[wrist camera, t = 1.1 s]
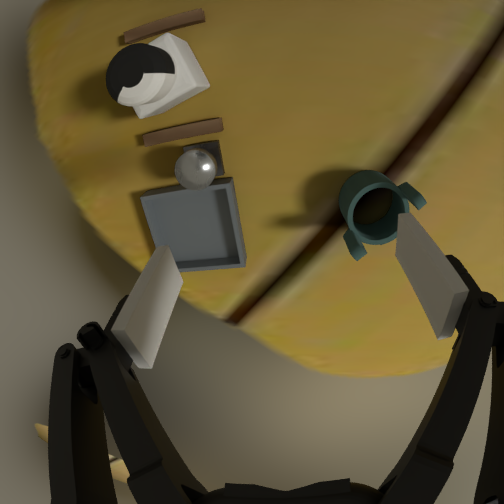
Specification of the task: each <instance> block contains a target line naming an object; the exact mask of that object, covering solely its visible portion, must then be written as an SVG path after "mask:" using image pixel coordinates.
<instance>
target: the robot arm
mask: <svg viewBox="0 0 504 504" xmlns="http://www.w3.org/2000/svg"><path fill="white" fill-rule="evenodd" d="M395 256H396V257H397V259H398V261H399V263H400V264H401V266H402V268H403V270H404V272H405V274H406V275H407V277H408V279H409V281H410V283H411V285H412V287H413V289H414V291H415V293H416V295H417V297H418V299H419V301H420V303H421V305H422V307H423V309H424V311H425V313H426V315H427V317H428V319H429V321H430V323H431V326H432V328H433V330H434V332H435V335H436V337H437V339H438V340H440V339H444V338H448V337H451V336H452V334H453V332H454V330H455V327H456V329H457V331H458V333H459V334H458V337H457V339H456V341H455V343H454V345H453V348H452V349H453V351H452V353H451V356H450V359H449V362H448V364H447V367H446V369H445V372H444V374H443V377H442V379H441V382H440V384H439V386H438V389H437V391H436V393H435V395H434V397H433V400H432V402H431V404H430V406H429V408H428V410H427V412H426V414H425V416H424V418H423V420H422V422H421V424H420V426H419V427H418V429H417V431H416V433H415V435H414V436H413V438H412V440H411V442H410V443H409V445H408V447H407V449H406V450H405V452H404V453H403V455H402V457H401V459H400V460H399V461H398V463H397V464H396V466H395V467H394V469H393V470H392V471H391V472H390V474H389V475H388V476H387V478H386V479H385V480H384V482H383V483H382V485H381V486H380V487H379V489H378V490H377V489H374V488H372V487H370V486H367V485H364V484H359V483H353V482H352V483H351V482H350V478H348V479H340V480H333V481H325V482H318V483H314V484H311V485H308V486H305V487H301V488H297V489H294V490H290V491H281V490H276V489H272V488H267V487H263V486H259V485H255V484H230V483H225V488H221V489H217V490H214V491H211V492H208V491H207V490H206V489H205V487H204V486H203V485H202V484H201V483H200V482H199V481H198V480H196V478H195V477H194V476H193V475H192V473H191V472H190V470H189V469H188V467H187V466H186V464H185V463H184V461H183V460H182V458H181V457H180V455H179V453H178V452H177V450H176V449H175V447H174V445H173V444H172V442H171V440H170V439H169V437H168V435H167V434H166V432H165V430H164V428H163V427H162V425H161V424H160V421H159V420H158V418H157V416H156V414H155V412H154V411H153V409H152V407H151V405H150V403H149V401H148V399H147V397H146V395H145V393H144V391H143V389H142V387H141V385H140V383H139V381H138V379H137V377H136V375H135V372H134V370H133V369H132V368H131V364H132V362H133V361H134V363H135V364H136V365H137V366H138V368H149V369H151V368H152V366H153V363H154V360H155V357H156V354H157V351H158V349H159V346H160V343H161V340H162V337H163V335H164V331H165V329H166V326H167V323H168V321H169V318H170V315H171V313H172V310H173V307H174V305H175V302H176V299H177V297H178V294H179V292H180V289H181V286H182V284H183V280H182V278H181V275H180V273H179V270H178V268H177V265H176V263H175V260H174V258H173V255H172V253H171V250H170V248H169V245H165V246H159V247H157V248H156V249H155V251H154V253H153V254H152V256H151V258H150V259H149V261H148V263H147V265H146V266H145V268H144V270H143V271H142V273H141V275H140V277H139V279H138V280H137V282H136V284H135V286H134V287H133V289H132V291H131V293H130V295H126V296H125V297H124V298H123V299H122V300H121V301H120V302H119V303H118V305H117V307H116V310H115V311H114V312H113V314H112V315H113V316H111V318H110V320H109V322H108V324H107V325H106V327H105V329H104V331H103V330H102V328H101V327H100V325H99V324H98V323H97V322H89V323H87V324H85V325H84V326H82V327H81V329H80V330H79V331H78V334H77V339H78V341H79V342H80V343H81V344H82V346H83V347H84V348H80V349H76V348H75V347H74V345H73V344H71V343H67V344H64V345H62V346H61V347H60V348H59V349H58V350H57V352H56V355H55V359H54V366H53V373H52V382H51V392H50V405H49V425H48V459H49V478H50V490H51V498H52V499H51V504H118V503H117V498H116V494H115V489H114V484H113V479H112V473H111V468H110V462H109V455H108V449H107V440H106V434H105V433H106V432H105V423H104V413H105V416H106V419H107V421H108V424H109V427H110V429H111V432H112V434H113V437H114V439H115V442H116V444H117V447H118V449H119V451H120V454H121V456H122V458H123V460H124V463H125V465H126V467H127V469H128V471H129V474H130V477H128V478H127V483H128V486H129V488H130V490H131V492H132V494H133V496H134V498H135V500H136V502H137V504H434V502H435V500H436V499H437V497H438V495H439V494H440V492H441V490H442V488H443V486H444V485H445V483H446V481H447V480H448V478H449V476H450V473H451V471H452V469H453V466H454V463H453V458H454V456H455V454H456V451H457V449H458V447H459V445H460V443H461V440H462V438H463V436H464V433H465V431H466V429H467V426H468V424H469V421H470V418H471V416H472V413H473V410H474V407H475V404H476V401H477V398H478V395H479V392H480V389H481V386H482V382H483V379H484V375H485V372H486V368H487V364H488V359H489V356H490V351H491V347H492V392H491V407H490V417H489V426H488V433H487V441H486V446H485V452H484V457H483V462H482V467H481V471H480V475H479V479H478V483H477V488H476V492H475V497H474V504H504V302H498V301H497V299H496V298H495V297H494V296H493V295H492V294H490V293H488V292H483V291H481V290H480V288H479V287H478V285H477V284H476V282H475V281H474V280H473V278H472V277H471V275H470V274H468V271H467V270H466V269H465V268H464V266H463V265H462V263H461V262H460V261H459V260H458V259H457V258H456V257H454V256H453V255H444V254H443V252H442V251H441V250H440V248H439V247H438V246H437V245H436V243H435V242H434V241H433V239H432V238H431V237H430V236H429V234H428V233H427V232H426V231H425V229H424V228H423V227H422V226H421V225H420V223H419V222H418V221H417V220H416V219H415V217H414V216H413V215H412V214H411V213H402V214H398V230H397V243H396V254H395ZM103 410H104V411H103Z"/></svg>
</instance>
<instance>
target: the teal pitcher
mask: <svg viewBox="0 0 504 504" xmlns="http://www.w3.org/2000/svg"><path fill="white" fill-rule="evenodd" d="M375 188H388V189H391V190H392V194H393V200H392V204H391V207H390V209H389V211H388V212H387V214H386V215H385V216H384V217H383V218H382V219H380V220H379V221H377V222H375V223H372V224H358V223H355V222H353V211H354V208H355V205H356V203H357V202H358V200H359V199H360V198H361V197H362V196H363V195H364V194H365V193H367V192H368V191H370V190H373V189H375ZM407 199H408V200H409V201H410V202H411V203H412V204H413V205H414V206H415V207H416V208H417V209H418V210H420V209H421V208H422V207H423V206H424V205H425V204H426V203H427V202H426V200H425V199H424V197H423V196H422V195H421V194H420V193H419V192H418V191H417V190H416V189H414V188H413V187H412V186H411V185H410V184H408V183H407V182H405V183H403V184H401V185H399V186H398V187H397V186H396V185H395V184H394V183H393V182H392V181H391V180H390V179H388V178H387V177H386V176H385V175H383V174H382V173H380V172H377V171H373V170H365V171H361V172H358V173H356V174H354V175H352V176H351V177H350V178H349V179H348V180H347V181H346V182H345V183H344V185H343V186H342V188H341V191H340V194H339V207H340V210H341V213H342V215H343V217H344V219H345V221H346V223H347V225H348V227H349V229H348V230H347V231H346V233H345V234H344V235H343V238H344V240H345V242H346V245H347V247H348V249H349V252H350V254H351V255H352V256H353V258H354V259H355V260H356V261H358V260H359V259H361V258H362V257H363V256H364V255H366V254H367V252H366V250H365V248H364V246H363V244H362V242H363V243H366V244H372V245H378V244H380V245H382V244H385V243H388V242H390V241H392V240H394V239H395V238H396V237H397V230H398V214H402V213H409V203H408V200H407ZM361 241H362V242H361Z"/></svg>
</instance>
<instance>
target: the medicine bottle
mask: <svg viewBox="0 0 504 504" xmlns="http://www.w3.org/2000/svg"><path fill="white" fill-rule="evenodd" d="M106 86H107V89H108V92H109V94H110V95H111V97H112V98H113V99H114V100H115V101H116V102H118V103H120V104H122V105H125V106H133V108H134V110H135V112H136V114H137V116H138V118H140V119H143V118H146V117H150V116H153V115H157V114H160V113H164V112H165V111H167V110H169V109H171V108H172V107H174V106H176V105H178V104H179V103H181V102H183V101H185V100H187V99H188V98H190V97H192V96H194V95H196V94H198V93H200V92H202V91H204V90H206V89H208V88H209V87H210V84H209V82H208V80H207V78H206V76H205V74H204V73H203V71H202V69H201V67H200V65H199V63H198V61H197V60H196V58H195V56H194V54H193V52H192V50H191V48H190V47H189V45H188V43H187V42H186V41H184V40H182V39H180V38H178V37H176V36H174V35H172V34H170V33H165V34H163V35H162V36H160V37H158V38H157V39H155V40H153V41H152V42H150V43H149V44H144V43H138V44H132V45H129V46H127V47H125V48H123V49H122V50H121V51H119V52H118V53H117V54H116V55H115V56H114V58H113V59H112V60H111V62H110V64H109V66H108V69H107V73H106Z"/></svg>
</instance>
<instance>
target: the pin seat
mask: <svg viewBox="0 0 504 504" xmlns="http://www.w3.org/2000/svg"><path fill="white" fill-rule="evenodd" d="M203 22H205V16H204V11H203V10H202V9H201V8H200V9H196V10H192V11H188V12H184V13H180V14H177V15H173V16H170V17H166V18H163V19H160V20H157V21H154V22H151V23H148V24H145V25H142V26H139V27H137V28H134V29H131V30H129V31H126V32H124V38H125V43H128V44H132V43H134V42H137V41H140V40H143V39H146V38H149V37H152V36H155V35H158V34H161V33H164V32H168V31H171V30H175V29H178V28H182V27H186V26H190V25H194V24H198V23H203ZM221 131H223V124H222V118H215V119H210V120H204V121H199V122H194V123H189V124H184V125H180V126H175V127H171V128H167V129H162V130H158V131H154V132H150V133H147V134H144V135H142V136H143V140H144V144H145V147H147V146H152V145H156V144H160V143H164V142H169V141H173V140H178V139H183V138H188V137H193V136H198V135H204V134H209V133H215V132H221Z"/></svg>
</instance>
